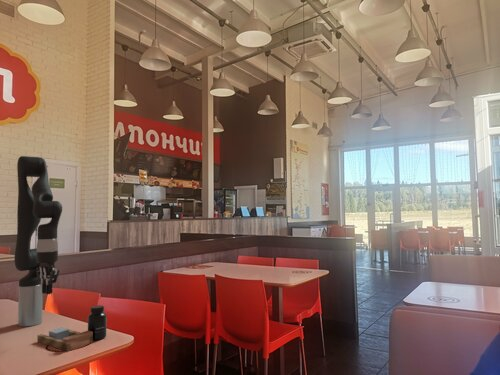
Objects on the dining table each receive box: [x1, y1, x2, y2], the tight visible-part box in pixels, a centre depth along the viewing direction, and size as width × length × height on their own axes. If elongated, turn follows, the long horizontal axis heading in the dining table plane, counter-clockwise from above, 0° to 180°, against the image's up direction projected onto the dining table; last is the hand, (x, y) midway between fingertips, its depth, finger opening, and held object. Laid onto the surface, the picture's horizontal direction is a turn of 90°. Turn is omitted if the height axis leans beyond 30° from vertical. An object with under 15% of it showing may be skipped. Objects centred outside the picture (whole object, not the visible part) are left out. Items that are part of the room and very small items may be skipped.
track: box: [37, 329, 94, 352], centre depth 140 cm, size 20×10×4 cm, turn 58°
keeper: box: [48, 327, 70, 340], centre depth 142 cm, size 5×5×4 cm
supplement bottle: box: [87, 304, 108, 342], centre depth 144 cm, size 7×7×12 cm
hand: (47, 293), depth 147 cm, fingers open, 2 cm apart
